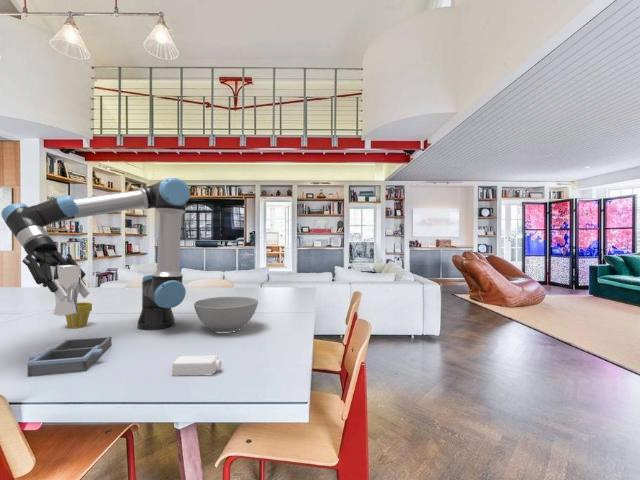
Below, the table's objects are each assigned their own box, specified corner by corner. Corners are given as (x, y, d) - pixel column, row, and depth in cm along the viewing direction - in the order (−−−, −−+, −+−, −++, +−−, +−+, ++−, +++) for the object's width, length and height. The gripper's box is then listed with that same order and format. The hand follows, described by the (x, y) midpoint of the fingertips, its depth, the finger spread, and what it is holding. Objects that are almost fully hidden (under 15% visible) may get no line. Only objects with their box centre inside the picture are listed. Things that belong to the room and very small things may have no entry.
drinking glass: (48, 316, 98) (50, 266, 98) (55, 312, 104) (57, 265, 104) (77, 315, 101) (78, 266, 101) (82, 310, 107) (83, 264, 107)
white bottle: (217, 376, 94) (217, 362, 94) (171, 377, 93) (172, 362, 93) (223, 368, 100) (223, 354, 100) (180, 368, 100) (180, 354, 100)
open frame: (117, 344, 121) (117, 334, 121) (93, 370, 97) (93, 357, 97) (59, 348, 115) (59, 338, 115) (18, 377, 91) (18, 363, 91)
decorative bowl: (269, 325, 149) (269, 299, 149) (230, 342, 125) (231, 310, 125) (223, 319, 160) (223, 294, 160) (179, 333, 136) (179, 304, 136)
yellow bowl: (96, 325, 147) (96, 303, 147) (68, 330, 138) (69, 307, 138) (85, 322, 152) (85, 301, 152) (58, 327, 144) (58, 304, 144)
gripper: (61, 250, 116) (97, 299, 112) (-6, 252, 97) (34, 310, 93) (73, 236, 115) (110, 285, 111) (8, 234, 96) (49, 293, 92)
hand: (75, 296), depth 102 cm, fingers closed on drinking glass, 7 cm apart
